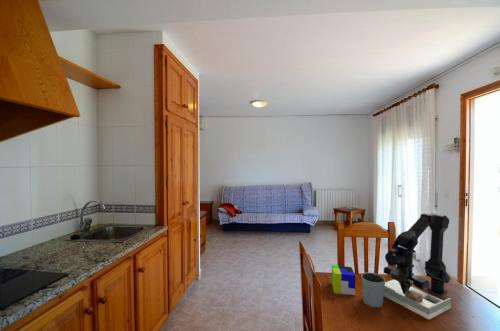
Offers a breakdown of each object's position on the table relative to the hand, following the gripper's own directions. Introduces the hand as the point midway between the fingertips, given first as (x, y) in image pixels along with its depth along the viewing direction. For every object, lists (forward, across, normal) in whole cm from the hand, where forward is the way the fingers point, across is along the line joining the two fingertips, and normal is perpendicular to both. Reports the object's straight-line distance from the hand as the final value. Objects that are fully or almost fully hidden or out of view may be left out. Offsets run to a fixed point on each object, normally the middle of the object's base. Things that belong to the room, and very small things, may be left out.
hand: (404, 294), depth 117 cm
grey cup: (+3, -5, -16) cm, 17 cm away
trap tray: (+3, 0, +3) cm, 4 cm away
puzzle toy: (+3, -20, -19) cm, 28 cm away
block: (+1, +4, 0) cm, 4 cm away
